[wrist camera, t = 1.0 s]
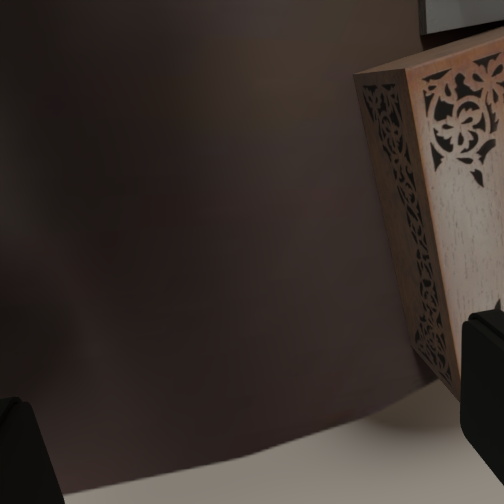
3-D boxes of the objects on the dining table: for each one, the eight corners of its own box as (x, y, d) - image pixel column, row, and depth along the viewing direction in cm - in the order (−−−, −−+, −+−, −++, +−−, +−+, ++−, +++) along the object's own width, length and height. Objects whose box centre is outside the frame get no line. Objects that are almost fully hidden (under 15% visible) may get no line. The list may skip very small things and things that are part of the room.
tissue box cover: (351, 74, 37) (404, 68, 28) (523, 18, 38) (633, -7, 28) (409, 344, 46) (465, 408, 37) (549, 297, 46) (640, 350, 37)
